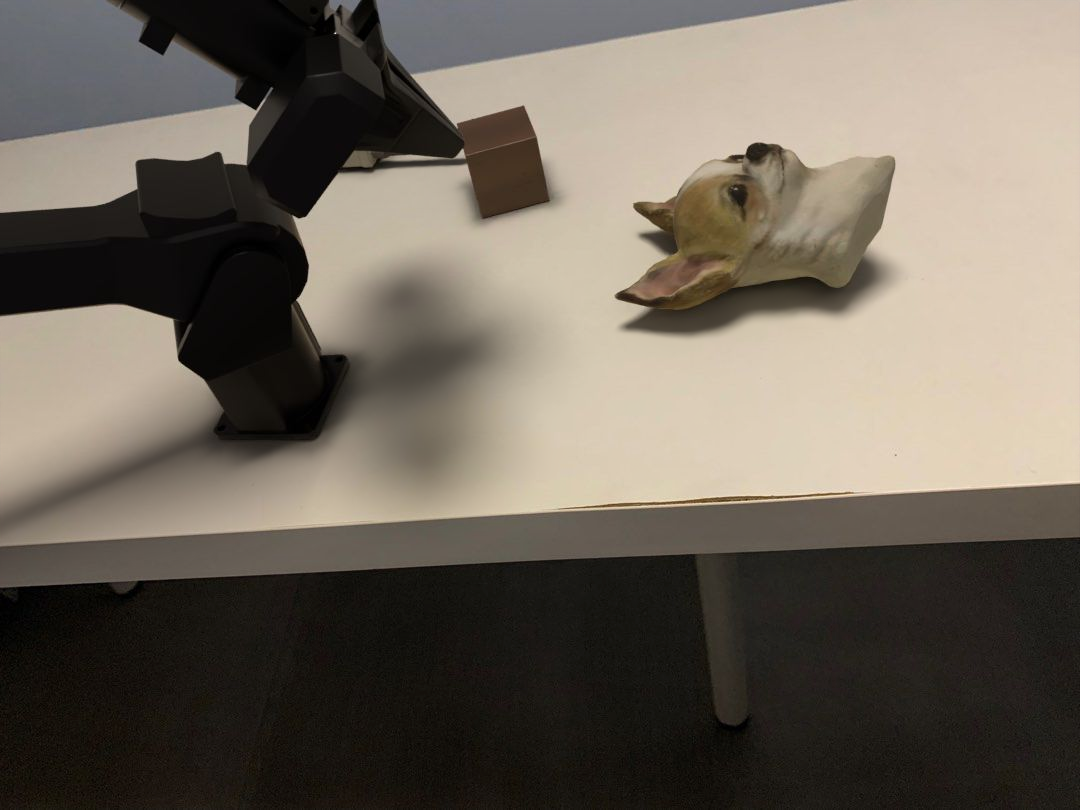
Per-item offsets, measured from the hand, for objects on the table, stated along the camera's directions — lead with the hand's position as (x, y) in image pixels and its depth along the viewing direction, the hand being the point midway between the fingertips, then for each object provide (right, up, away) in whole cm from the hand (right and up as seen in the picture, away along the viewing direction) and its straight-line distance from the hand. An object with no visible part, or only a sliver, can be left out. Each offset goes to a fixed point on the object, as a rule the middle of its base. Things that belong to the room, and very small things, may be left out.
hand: (459, 147), depth 43 cm
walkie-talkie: (-10, +9, +29) cm, 32 cm away
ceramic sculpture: (+17, -5, +8) cm, 19 cm away
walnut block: (+2, +3, +19) cm, 20 cm away
